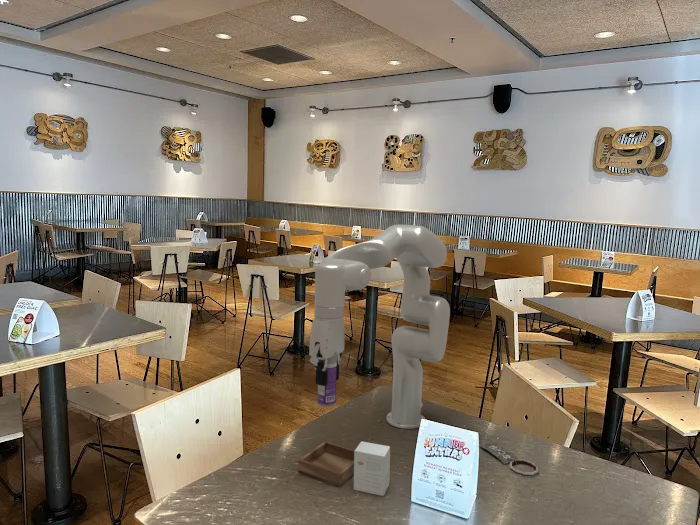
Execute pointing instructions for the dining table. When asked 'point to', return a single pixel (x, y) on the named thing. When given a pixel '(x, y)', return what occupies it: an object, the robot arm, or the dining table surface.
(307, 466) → the tray
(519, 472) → the keychain
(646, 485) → the dining table surface
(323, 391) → the container
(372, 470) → the small box
